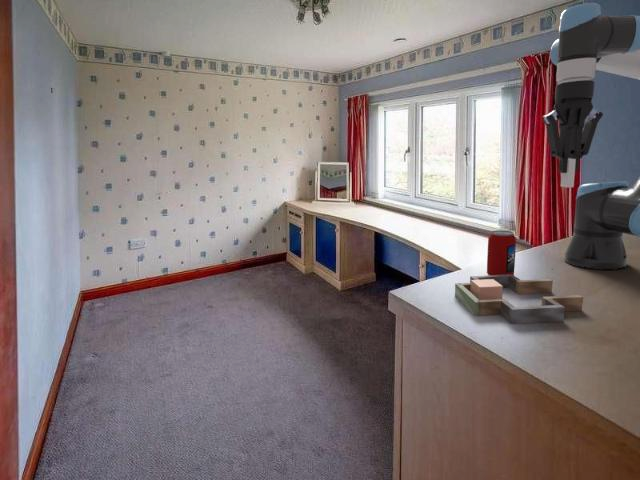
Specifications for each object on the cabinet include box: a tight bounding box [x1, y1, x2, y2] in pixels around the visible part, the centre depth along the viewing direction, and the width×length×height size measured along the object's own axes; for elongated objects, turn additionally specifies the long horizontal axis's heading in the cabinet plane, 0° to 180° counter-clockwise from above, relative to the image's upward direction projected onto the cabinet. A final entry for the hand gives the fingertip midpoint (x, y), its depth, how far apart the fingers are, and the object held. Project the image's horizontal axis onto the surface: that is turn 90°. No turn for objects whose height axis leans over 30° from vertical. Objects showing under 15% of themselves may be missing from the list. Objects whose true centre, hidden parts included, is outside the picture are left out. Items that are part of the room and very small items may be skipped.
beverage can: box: [486, 229, 517, 276], centre depth 112 cm, size 7×7×12 cm
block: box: [471, 279, 504, 300], centre depth 94 cm, size 5×5×5 cm
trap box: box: [454, 274, 584, 325], centre depth 94 cm, size 23×22×3 cm
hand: (566, 186), depth 100 cm, fingers closed
